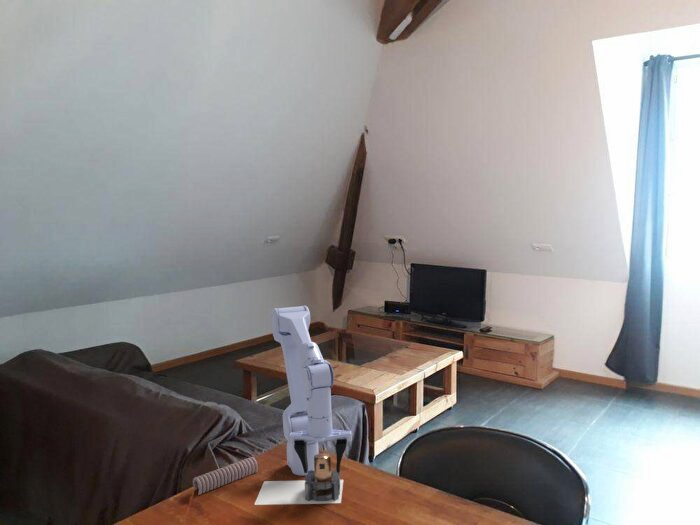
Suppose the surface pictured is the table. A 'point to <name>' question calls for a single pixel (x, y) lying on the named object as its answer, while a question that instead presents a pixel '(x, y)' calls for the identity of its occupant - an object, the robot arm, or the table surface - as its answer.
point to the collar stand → (322, 487)
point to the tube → (322, 470)
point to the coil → (225, 475)
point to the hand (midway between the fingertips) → (322, 470)
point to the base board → (288, 493)
